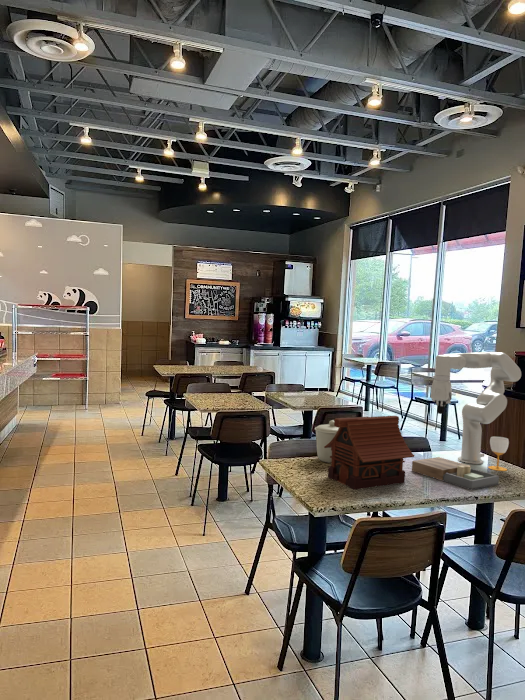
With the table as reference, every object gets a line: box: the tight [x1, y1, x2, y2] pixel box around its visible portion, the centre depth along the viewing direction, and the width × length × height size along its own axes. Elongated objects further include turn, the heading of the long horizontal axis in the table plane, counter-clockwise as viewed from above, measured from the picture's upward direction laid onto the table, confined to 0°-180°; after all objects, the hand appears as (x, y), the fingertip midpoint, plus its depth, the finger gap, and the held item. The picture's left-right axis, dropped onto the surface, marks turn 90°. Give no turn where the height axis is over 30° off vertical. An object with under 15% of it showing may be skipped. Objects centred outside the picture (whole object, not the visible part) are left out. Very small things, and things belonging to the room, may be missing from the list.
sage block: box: [464, 473, 484, 480], centre depth 239 cm, size 6×6×3 cm
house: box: [324, 415, 415, 490], centre depth 236 cm, size 35×28×29 cm
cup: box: [487, 435, 510, 472], centre depth 268 cm, size 9×9×16 cm
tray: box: [442, 467, 500, 491], centre depth 240 cm, size 20×15×4 cm
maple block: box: [457, 464, 472, 478], centre depth 243 cm, size 6×6×3 cm
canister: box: [314, 419, 339, 464], centre depth 269 cm, size 18×18×21 cm
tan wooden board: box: [411, 456, 467, 482], centre depth 254 cm, size 20×18×5 cm
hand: (440, 413), depth 272 cm, fingers closed
